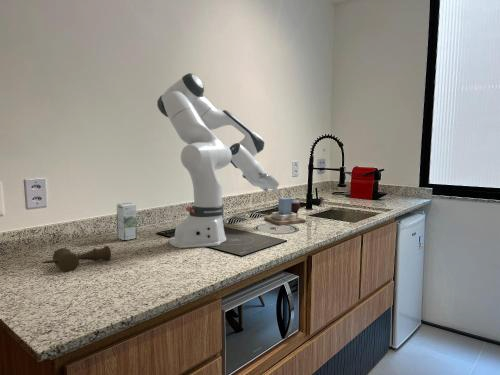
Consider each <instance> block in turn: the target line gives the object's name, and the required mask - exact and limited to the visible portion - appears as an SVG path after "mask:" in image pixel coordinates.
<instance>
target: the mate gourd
mask: <svg viewBox="0 0 500 375" xmlns="http://www.w3.org/2000/svg"><path fill="white" fill-rule="evenodd" d="M283 189H284V190H285V191H286V193H287V194H288V198H290V199H291V212H292V213H296V214H297V213H299V212H298V211H299V210H300V207H301V203H300V202H301V201H300V200H299V199H296V198H292V197H291V195H290V192H289V190H288V189H287V188H286V187H285V186H283Z"/></svg>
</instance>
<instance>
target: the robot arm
mask: <svg viewBox="0 0 500 375" xmlns="http://www.w3.org/2000/svg"><path fill="white" fill-rule="evenodd" d="M204 92H205V86H204V83H203V82H202V81H201V79H200V77H198V76H197V75H196V74H193V73H190V72H189V73H187V74H185V75H183V76H182V77H181V78H180V79H178V80H177V81H176V82H175V83H173V84H172V85H170V87H168V88H167V89H166V91H165V92H164V93H163V94H161V95H160V96H159V98H158V99H157V104H156V105H157V108H158V111H160V113H161V114H162V115H163V116H165V117H167V118H168V119H169V121H170V123H171V125H172V127H173V128H174V130H175V131H176V133H177V135H178V137H179V139H180V140H182V142H184V143H186V144H187V145H186V146H184V147H183V148H182V150H181V153H180V162H181V164H182V166H183V167H184V168H185V169H186V170H187V171H188V173H189V176H190V178H191V183H192V185H193V186H192V188H193V202H194V203H193V206H189V205H187V206H186V207H185V211H186V212H188V213H189V215H188V216H187V217H186V218H184V219H183V220H182V221H180V223H178V224H177V226H176V227H175V231H174V236H173V237H170V238H169V239H168V242H169V244H170V245H171V246H172V247H175V248H179V249H186V248H200V247H214V246H215V247H216V246H220V245H221V244H222V243H224V242H226V240H227V237H226V233H225V227H224V205H223V191H222V190H223V187H222V184H221V183H220V182H219V181H218V179H217V176H216V170H221V169H223V168H225V167H228V166H229V165H230V163H231V165H232V166H233V167H234V168H235V169H239V170H240V171H241V172H242V175H241V176H242V178H243V179H245V180H246V181H248V183H250V184H251V186H253V187H256V188H257V187H258V188H260V189H261V190H263V191H264V192H266V193H267V192H268V191H269V190H272V191H273V193H274V194H275V195H278V194H279V193H280V191H279V189H278V187H279V186H280V183H279V182H278V180H277V179H275V177H273V175H272V174H269V173H265V168H264V167H263V166H262V164H260V162H258V160H256V159H255V156H256V155H257V154H259V153H260V152H262V151H263V150H264V147H265V141H264V139H263V136H261V135H259V134H258V133H256V132H255V131H254V130H252V129H251V128H250V127H248V126H247V124H245V123H243V122H242V121H241V120H240V119H238V117H236V116H235V115H234V114H232V113H231V112H229V110H226V109H223V110H220V109H219V108H216V106H214V105H213V103H211V102H210V100H209V99H208V98H207V97H206V96H205V95H204ZM225 126H232V127H234V128H235V129H236V130H237V131H239V132H240V133H241V134H243V135H244V137H243V138H242V139H241V140H240V141H239V142H236V143H233V144H232V145H231V146H230V147H229V146H228V145H226V144H224V143H223V142H222V141H221V140H220V139H219V138H218V137H217V136H216V134H214V133H213V131H212V130H216V129H219V128H222V127H225Z"/></svg>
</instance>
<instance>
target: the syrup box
mask: <svg viewBox="0 0 500 375" xmlns="http://www.w3.org/2000/svg"><path fill="white" fill-rule="evenodd" d="M116 224H117V226H116V227H117V230H116V231H117V239H118V238H119V239H118V240H120V239H121V240H120V241H122V240H128V241H131V240H130V239H133V240H136V239H135V238H137V239H138V232H137V230H138V228H137V204H135V203H133V202H124V203H117V204H116Z"/></svg>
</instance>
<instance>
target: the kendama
mask: <svg viewBox="0 0 500 375" xmlns="http://www.w3.org/2000/svg"><path fill="white" fill-rule="evenodd" d="M111 257H112V252H111V248H110V246H109V245H105V246H104V247H102V248H93V249H92V250H90V251H88V252H84V253H80V254H77V253H74V252H71V250H70V249H69V248H66V247H61V248H58V249H56V250H54V252H53V254H52V259H50V260H45V261H43V262H42V264H55V265H57V267H58V269H59V271H61V272H63V273H67V272H74V271H75V270H77V268H78V267H79V265H80V261H87V260H88V261H94V262H98V261H100V260H103V261H104V260H105V261H108V262H109V261H110V260H111Z"/></svg>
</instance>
